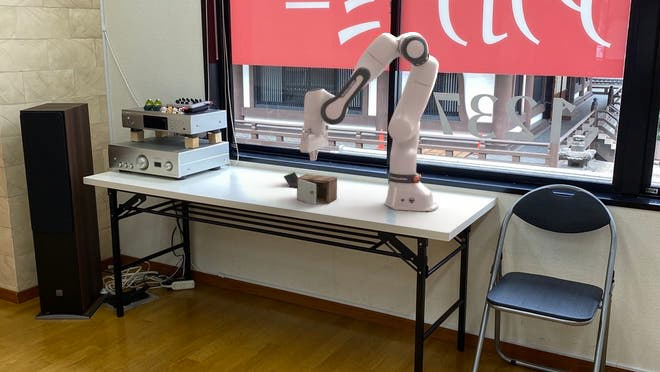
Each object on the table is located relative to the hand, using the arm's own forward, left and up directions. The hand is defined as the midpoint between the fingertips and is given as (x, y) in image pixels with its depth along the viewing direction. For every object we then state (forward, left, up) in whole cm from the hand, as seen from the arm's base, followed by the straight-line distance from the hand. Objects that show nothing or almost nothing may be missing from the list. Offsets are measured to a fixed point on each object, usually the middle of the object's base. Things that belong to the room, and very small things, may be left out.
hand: (313, 160), depth 268 cm
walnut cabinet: (+1, -7, -19) cm, 20 cm away
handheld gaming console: (+21, -29, -19) cm, 41 cm away
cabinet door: (+3, +2, -18) cm, 18 cm away
